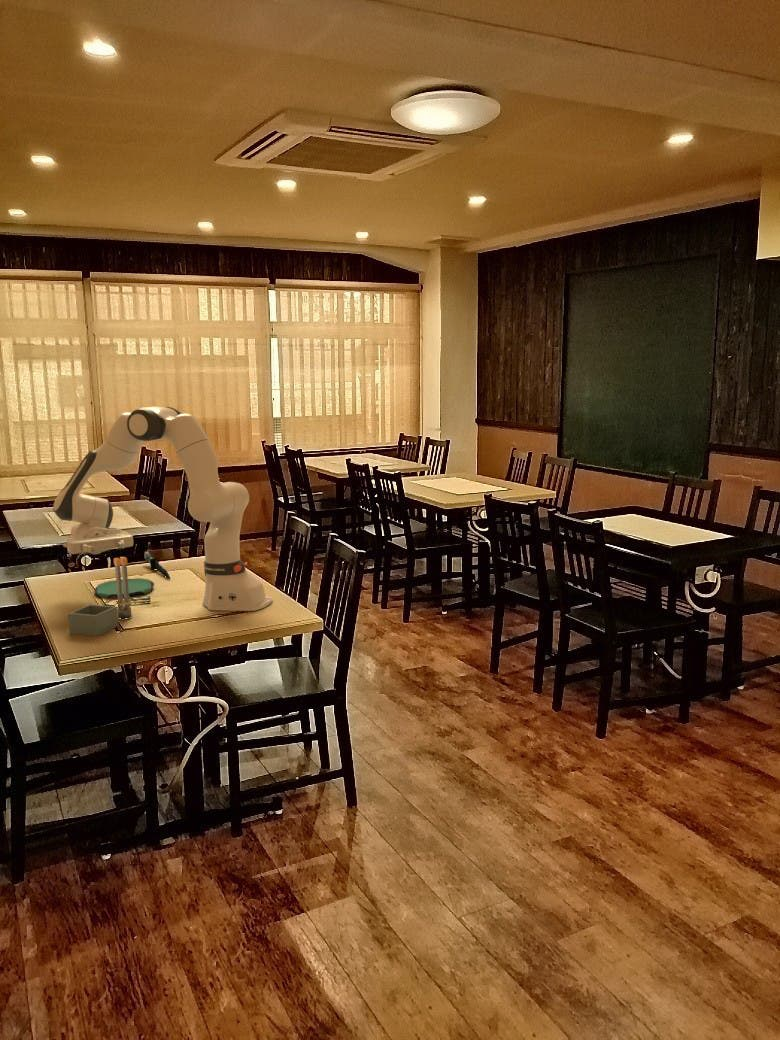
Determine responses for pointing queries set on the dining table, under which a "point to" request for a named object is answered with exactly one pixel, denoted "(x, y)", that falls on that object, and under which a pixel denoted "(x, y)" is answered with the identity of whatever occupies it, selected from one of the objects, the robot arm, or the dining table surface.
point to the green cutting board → (133, 585)
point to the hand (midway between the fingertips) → (107, 547)
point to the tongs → (123, 611)
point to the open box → (93, 620)
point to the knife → (155, 564)
